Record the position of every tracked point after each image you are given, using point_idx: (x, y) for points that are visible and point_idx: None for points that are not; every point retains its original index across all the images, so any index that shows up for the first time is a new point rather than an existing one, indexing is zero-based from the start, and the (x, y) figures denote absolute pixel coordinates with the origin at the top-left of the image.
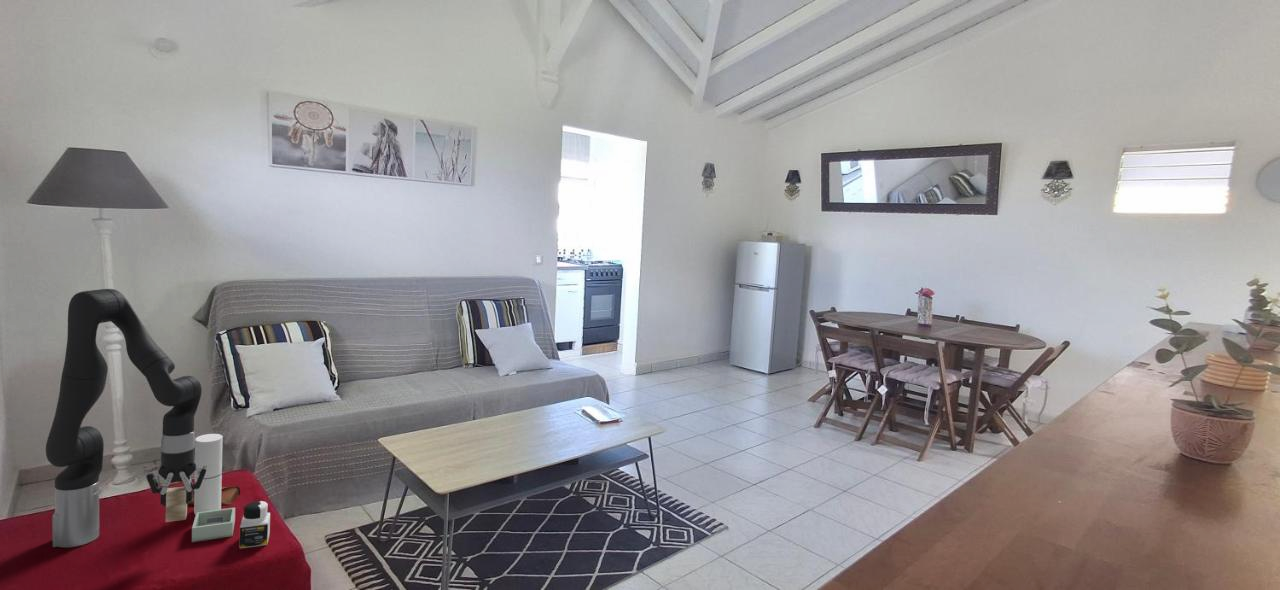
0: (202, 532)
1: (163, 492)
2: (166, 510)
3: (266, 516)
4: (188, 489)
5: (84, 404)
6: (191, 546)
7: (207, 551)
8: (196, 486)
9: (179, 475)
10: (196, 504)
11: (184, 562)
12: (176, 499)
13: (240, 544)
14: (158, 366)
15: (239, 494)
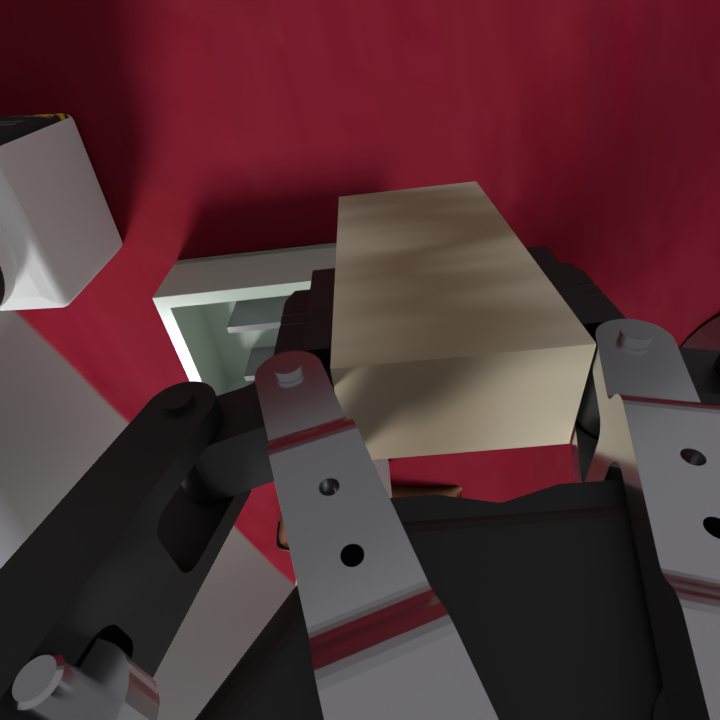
0: (293, 267)
1: (633, 337)
2: (499, 221)
3: None
4: (301, 375)
5: None
6: (330, 203)
7: (236, 127)
8: (189, 412)
9: (489, 669)
10: (379, 471)
11: (317, 15)
12: (433, 285)
13: (52, 116)
14: None
15: (278, 522)
